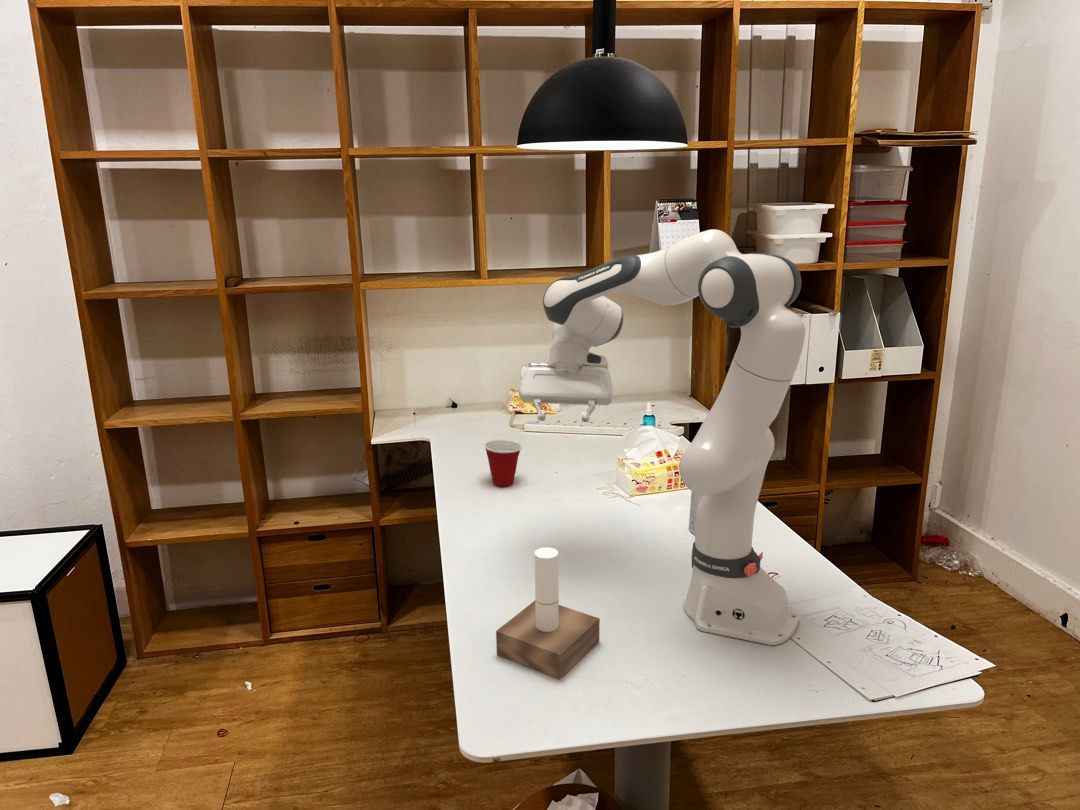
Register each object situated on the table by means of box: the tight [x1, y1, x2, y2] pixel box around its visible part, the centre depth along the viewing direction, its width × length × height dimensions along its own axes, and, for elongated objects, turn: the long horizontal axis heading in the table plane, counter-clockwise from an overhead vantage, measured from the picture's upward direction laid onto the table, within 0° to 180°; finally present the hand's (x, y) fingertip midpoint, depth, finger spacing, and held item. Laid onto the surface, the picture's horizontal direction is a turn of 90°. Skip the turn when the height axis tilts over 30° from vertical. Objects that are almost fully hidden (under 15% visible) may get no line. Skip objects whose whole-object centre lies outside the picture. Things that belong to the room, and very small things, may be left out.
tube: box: [534, 546, 560, 632], centre depth 148 cm, size 4×4×15 cm
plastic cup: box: [483, 439, 523, 489], centre depth 228 cm, size 11×11×12 cm
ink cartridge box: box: [688, 490, 702, 536], centre depth 194 cm, size 10×6×14 cm, turn 15°
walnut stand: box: [495, 600, 601, 680], centre depth 151 cm, size 14×14×5 cm
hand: (563, 420), depth 171 cm, fingers open, 8 cm apart
